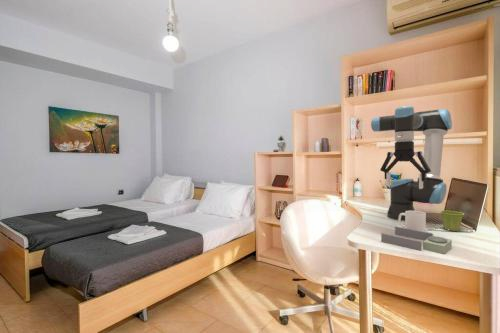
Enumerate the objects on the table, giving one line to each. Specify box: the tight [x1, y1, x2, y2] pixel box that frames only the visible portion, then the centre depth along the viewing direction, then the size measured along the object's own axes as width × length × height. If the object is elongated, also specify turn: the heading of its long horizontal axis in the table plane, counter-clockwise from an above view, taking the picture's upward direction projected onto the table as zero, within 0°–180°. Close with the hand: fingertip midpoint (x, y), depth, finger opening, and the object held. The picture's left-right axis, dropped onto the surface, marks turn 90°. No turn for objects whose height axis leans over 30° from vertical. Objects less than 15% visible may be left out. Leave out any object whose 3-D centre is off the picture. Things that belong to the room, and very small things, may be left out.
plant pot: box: [439, 210, 465, 232], centre depth 128 cm, size 9×9×9 cm
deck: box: [380, 226, 453, 255], centre depth 110 cm, size 16×22×4 cm
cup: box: [397, 210, 427, 232], centre depth 125 cm, size 8×12×10 cm
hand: (404, 187), depth 119 cm, fingers open, 13 cm apart
